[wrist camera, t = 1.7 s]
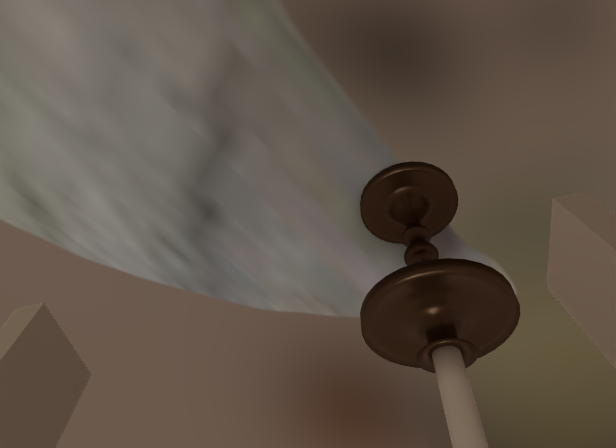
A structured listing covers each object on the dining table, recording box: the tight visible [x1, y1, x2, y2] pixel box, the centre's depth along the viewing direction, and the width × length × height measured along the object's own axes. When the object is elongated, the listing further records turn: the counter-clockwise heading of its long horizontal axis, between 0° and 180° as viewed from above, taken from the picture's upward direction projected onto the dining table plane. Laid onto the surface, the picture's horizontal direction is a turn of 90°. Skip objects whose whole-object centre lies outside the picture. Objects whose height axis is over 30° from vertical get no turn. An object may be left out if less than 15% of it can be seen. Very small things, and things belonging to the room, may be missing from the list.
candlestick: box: [360, 162, 520, 448], centre depth 28 cm, size 11×11×35 cm
